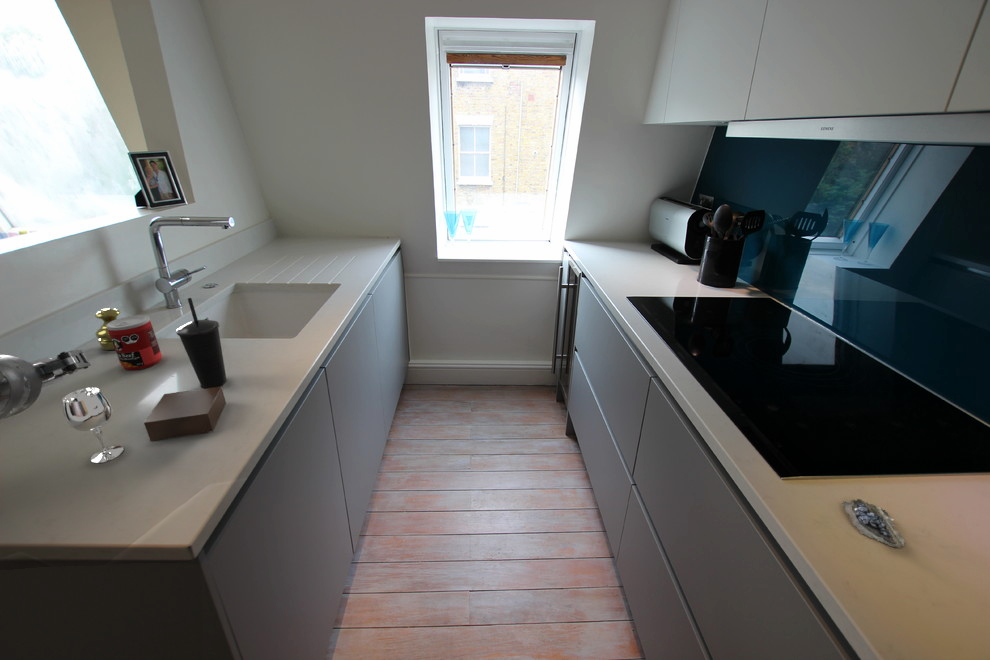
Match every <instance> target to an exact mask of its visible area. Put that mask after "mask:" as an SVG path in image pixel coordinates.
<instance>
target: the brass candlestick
mask: <svg viewBox="0 0 990 660" xmlns="http://www.w3.org/2000/svg"><path fill="white" fill-rule="evenodd" d="M120 314H121V310H120V309H118V308H117V309H116V308H111V307H105V308H102V309H101V310H99V311H97V312H96V313H95V314H94V317H95V318H96V319H99V320H101V321H102V322H103V323H102V325H101V326H100V327H99V328H98V329H97V330H96V331H95V336H96V338H98V344H99V345H100V349H101V350H105V351H113V350H114V351H115V348H114V346H113V343H112V340H111V338H110V335H109V333H108V330H107V324H108V323H110V322H111V321H114V320H116V319H118V316H119V315H120Z"/></svg>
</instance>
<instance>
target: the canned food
mask: <svg viewBox="0 0 990 660" xmlns="http://www.w3.org/2000/svg"><path fill="white" fill-rule="evenodd" d="M107 330H108V333H109V335H110V338H111V340H112V343H113V346H114V348H115V350H114V351H115V354H116V357H117V358H118V361H119V364H120V366H121V367H122V368H123V370H126V371H138V370H144V369H147V368H150V367H153V366H155V365H157V364H159V363H160V362H161V360H162V359H163V355H162V351H161V349H160V346H159V343H158V340H157V336H156V333H155V330H154V328H153V324H152V321H151V319H150V316H148V315H144V314H136V315H129V316H123V317H120V318H117V319H116V320H114V321H111V322H110V323H108V324H107Z"/></svg>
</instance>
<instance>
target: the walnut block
mask: <svg viewBox="0 0 990 660" xmlns="http://www.w3.org/2000/svg"><path fill="white" fill-rule="evenodd" d="M226 405H227V401H226V398H225V394H224V390H223V387H222V386H220V387H214V388H206V389H204V388H200V389H192V390H185V391H184V390H183V391H176V392H169V393H164V394H163V395H162V397H161V398H160V399H159V401H158V402H157V404H156V405H155V407H154V408H153V409H152V410H151V412H150V413H149V414H148V416H147V417H146V419H145V420H144V421H143V426H144V428H145V430H146V433H147V436H148V439H149V441H150V442H154V441H161V440H162V441H163V440H168V439H174V438H181V437H186V436H193V435H199V434H207V433H213V432H214V430H215V429H216V426H217V424H218V422H219V421H220V417H221V415H222V413H223V411H224V409H225V407H226Z"/></svg>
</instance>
